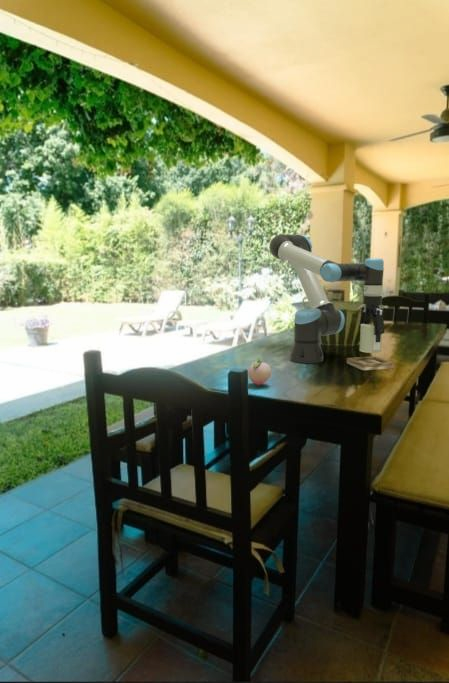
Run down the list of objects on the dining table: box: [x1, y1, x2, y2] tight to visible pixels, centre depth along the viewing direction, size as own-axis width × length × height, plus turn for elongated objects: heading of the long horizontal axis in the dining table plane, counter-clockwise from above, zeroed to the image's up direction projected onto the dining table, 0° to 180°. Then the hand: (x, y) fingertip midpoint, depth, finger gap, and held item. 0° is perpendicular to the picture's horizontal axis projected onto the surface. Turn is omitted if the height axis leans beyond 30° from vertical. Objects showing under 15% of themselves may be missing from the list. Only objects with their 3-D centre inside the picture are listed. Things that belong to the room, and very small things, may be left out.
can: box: [359, 322, 383, 354], centre depth 195 cm, size 9×9×12 cm
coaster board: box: [346, 355, 394, 371], centre depth 197 cm, size 14×14×2 cm
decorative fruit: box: [247, 358, 272, 387], centre depth 165 cm, size 9×8×10 cm
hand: (370, 347), depth 196 cm, fingers closed on can, 9 cm apart
